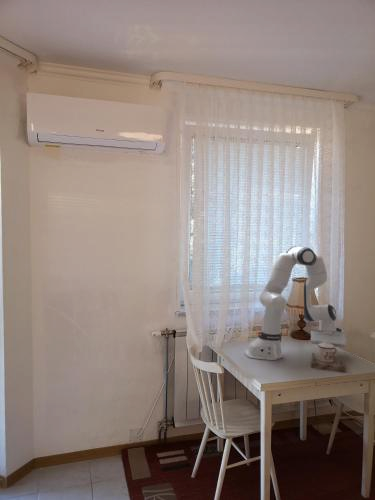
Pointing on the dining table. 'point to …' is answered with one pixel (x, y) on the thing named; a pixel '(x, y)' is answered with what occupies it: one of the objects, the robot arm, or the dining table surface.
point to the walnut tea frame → (328, 365)
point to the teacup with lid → (326, 352)
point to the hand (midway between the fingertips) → (328, 351)
